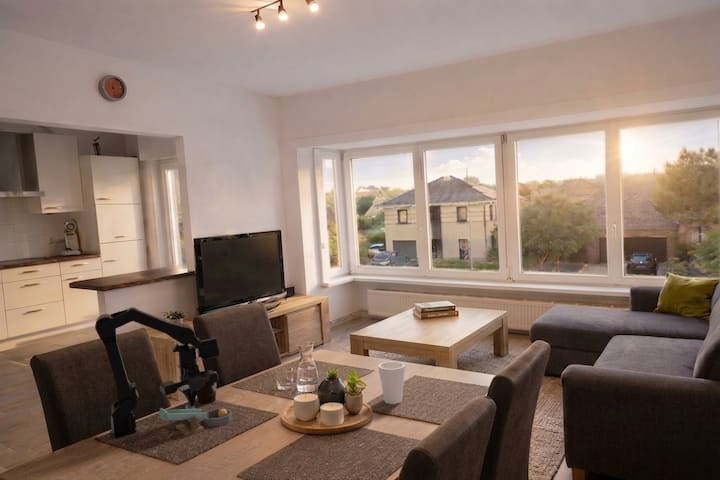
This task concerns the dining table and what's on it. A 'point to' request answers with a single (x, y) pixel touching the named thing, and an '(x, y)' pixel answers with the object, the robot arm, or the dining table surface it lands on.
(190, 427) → the fulcrum
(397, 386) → the foam cup
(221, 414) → the ball
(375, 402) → the dining table surface
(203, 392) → the coffee mug
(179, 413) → the lever
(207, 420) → the bowl
